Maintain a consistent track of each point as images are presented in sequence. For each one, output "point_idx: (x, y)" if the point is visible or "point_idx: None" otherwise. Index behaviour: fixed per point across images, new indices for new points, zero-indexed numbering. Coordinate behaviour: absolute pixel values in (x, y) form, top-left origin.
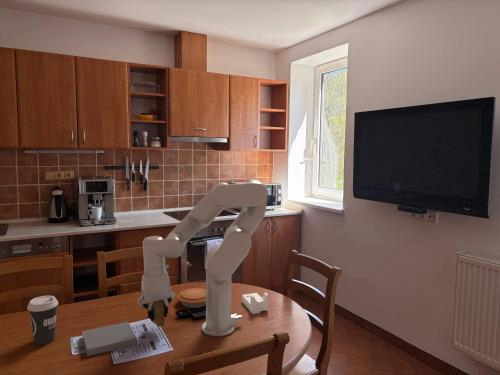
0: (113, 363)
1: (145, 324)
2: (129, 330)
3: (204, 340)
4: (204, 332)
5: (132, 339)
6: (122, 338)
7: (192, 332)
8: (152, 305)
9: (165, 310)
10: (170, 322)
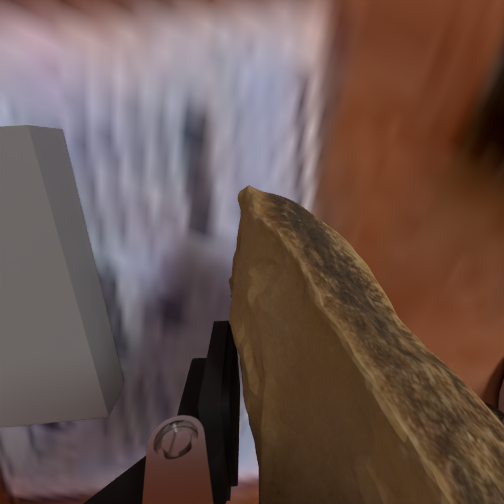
0: (9, 493)
1: (209, 130)
2: (52, 305)
3: None
4: (500, 402)
5: (82, 416)
6: (8, 395)
7: (450, 365)
8: (258, 437)
9: None
10: (396, 183)
